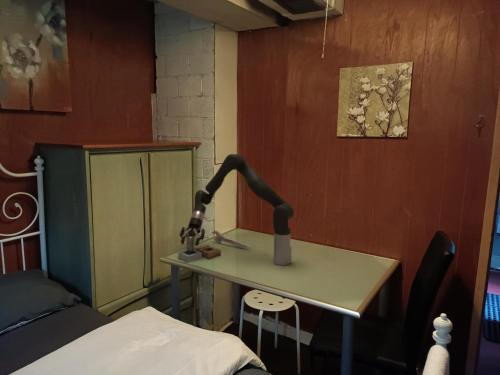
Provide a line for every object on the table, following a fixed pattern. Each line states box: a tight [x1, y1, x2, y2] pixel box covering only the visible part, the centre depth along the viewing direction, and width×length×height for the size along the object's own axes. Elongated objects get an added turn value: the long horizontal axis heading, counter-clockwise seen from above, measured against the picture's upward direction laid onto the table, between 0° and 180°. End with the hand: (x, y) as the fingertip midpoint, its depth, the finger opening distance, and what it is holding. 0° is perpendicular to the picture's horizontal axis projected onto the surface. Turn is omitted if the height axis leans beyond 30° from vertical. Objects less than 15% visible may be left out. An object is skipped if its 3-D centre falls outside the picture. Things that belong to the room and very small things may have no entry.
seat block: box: [178, 249, 203, 263], centre depth 211 cm, size 10×10×4 cm
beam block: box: [195, 244, 222, 260], centre depth 217 cm, size 12×9×4 cm
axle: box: [186, 235, 195, 255], centre depth 211 cm, size 4×4×13 cm
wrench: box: [211, 229, 252, 251], centre depth 235 cm, size 8×2×30 cm
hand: (189, 244), depth 209 cm, fingers open, 8 cm apart
